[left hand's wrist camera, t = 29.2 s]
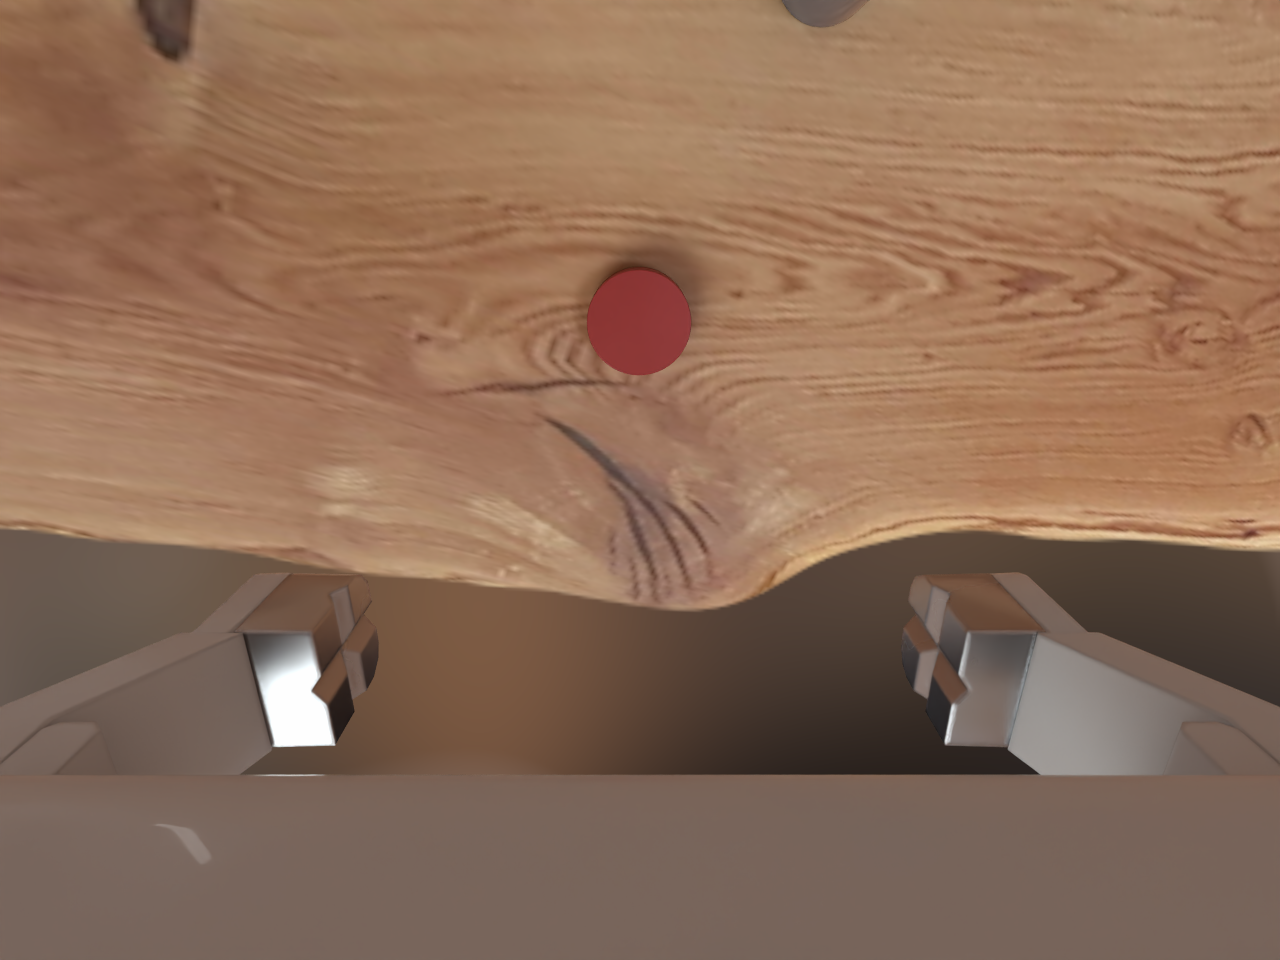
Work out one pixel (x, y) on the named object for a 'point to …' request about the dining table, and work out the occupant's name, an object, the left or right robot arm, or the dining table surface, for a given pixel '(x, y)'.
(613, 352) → the lid
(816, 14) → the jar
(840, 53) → the dining table surface
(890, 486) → the dining table surface
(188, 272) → the dining table surface
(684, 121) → the dining table surface
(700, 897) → the left robot arm
